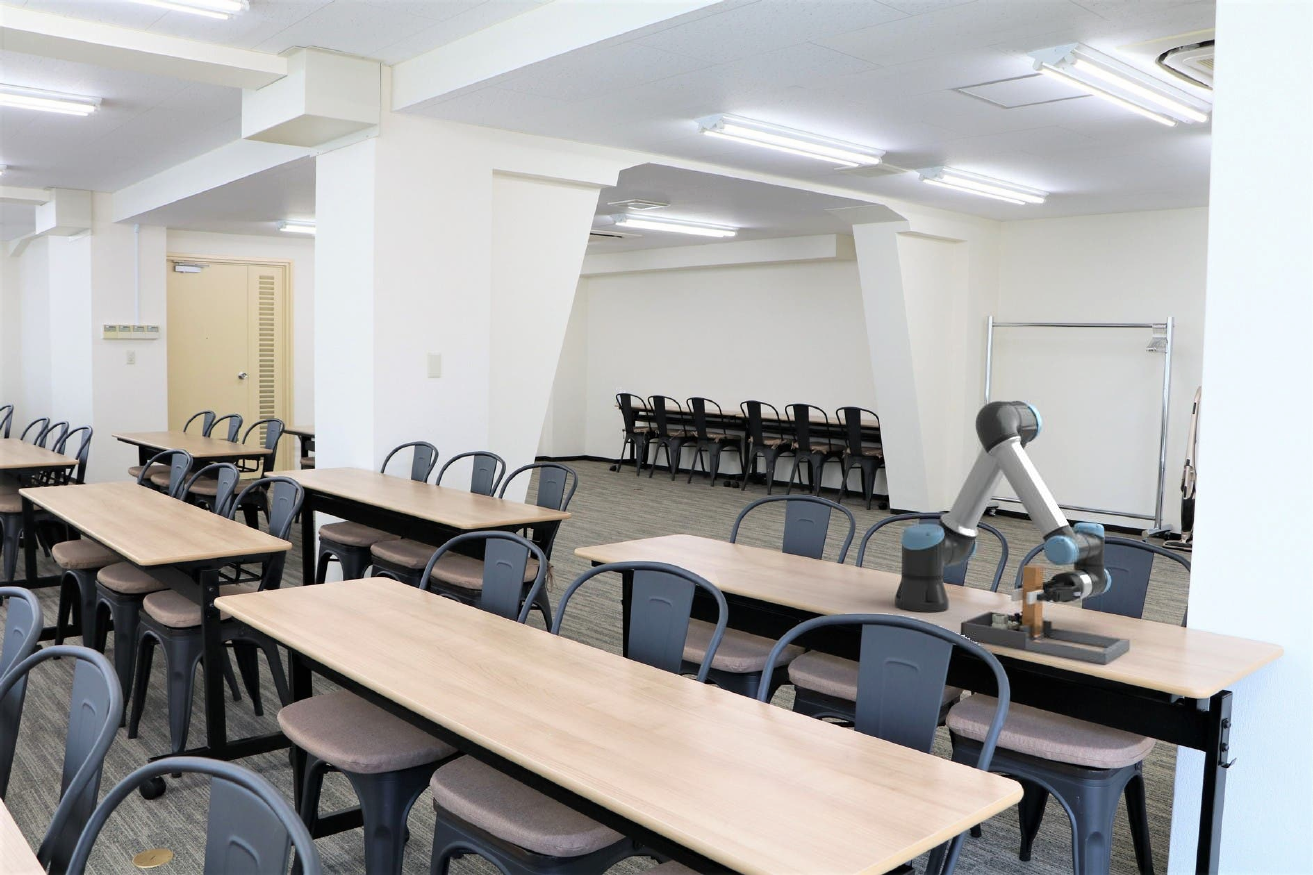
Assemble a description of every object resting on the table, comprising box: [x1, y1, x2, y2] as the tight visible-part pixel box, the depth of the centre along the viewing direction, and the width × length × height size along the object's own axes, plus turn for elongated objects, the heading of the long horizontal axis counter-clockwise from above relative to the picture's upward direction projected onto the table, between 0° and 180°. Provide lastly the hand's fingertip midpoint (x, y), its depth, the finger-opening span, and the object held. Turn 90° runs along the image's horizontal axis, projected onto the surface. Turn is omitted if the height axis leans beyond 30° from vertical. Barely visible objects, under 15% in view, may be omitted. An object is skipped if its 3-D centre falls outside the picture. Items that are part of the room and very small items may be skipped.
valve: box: [991, 611, 1022, 632], centre depth 250 cm, size 7×7×12 cm
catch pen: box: [960, 611, 1053, 651], centre depth 251 cm, size 18×16×4 cm
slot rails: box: [1024, 626, 1131, 666], centre depth 239 cm, size 18×18×2 cm
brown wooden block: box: [1019, 564, 1045, 641], centre depth 246 cm, size 13×4×18 cm, turn 139°
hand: (1020, 597), depth 243 cm, fingers closed on brown wooden block, 3 cm apart
